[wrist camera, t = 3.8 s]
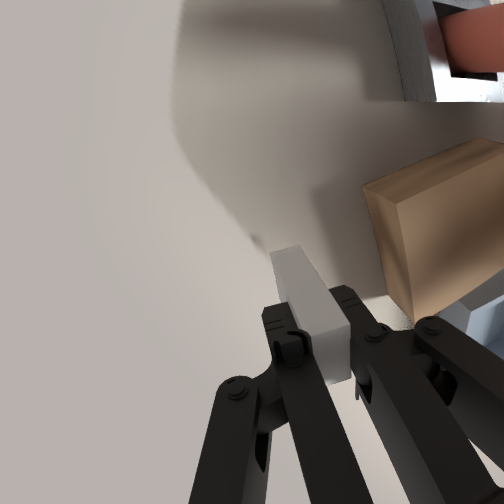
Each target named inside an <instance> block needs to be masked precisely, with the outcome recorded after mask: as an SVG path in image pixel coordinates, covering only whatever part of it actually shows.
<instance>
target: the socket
mask: <svg viewBox="0 0 504 504" xmlns="http://www.w3.org/2000/svg"><path fill="white" fill-rule="evenodd" d="M381 1H382V4H383V7H384V10H385V14H386V17H387V21H388V24H389V28H390V31H391V35H392V39H393V43H394V47H395V51H396V56H397V60H398V65H399V70H400V74H401V80H402V85H403V90H404V96H405V101H421V102H496V103H504V72H481V73H465V75H466V78H451V75H450V69H449V64H448V60H447V55H446V50H445V46H444V42H443V38H442V34H441V30H440V26H439V23H438V19H437V18H440V17H444V16H447V15H451V14H454V13H458V12H462V11H466V10H470V9H475V8H479V7H484V6H488V5H491V4H490V1H489V0H381Z"/></svg>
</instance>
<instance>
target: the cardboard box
mask: <svg viewBox="0 0 504 504" xmlns="http://www.w3.org/2000/svg"><path fill="white" fill-rule="evenodd" d="M362 189H363V193H364V196H365V200H366V203H367V207H368V210H369V214H370V218H371V222H372V225H373V229H374V233H375V237H376V241H377V246H378V250H379V254H380V259H381V263H382V268H383V272H384V277H385V282H386V287H387V292H388V295H389V297H390V298H391V299H392V300H393V301H394V302H395V303H396V304H397V306H398V307H399V308H400V309H401V310H402V311H403V312H404V314H405V315H406V316H407V317H408V318H409V319H410V321H411V322H412V323H413V324H414V325H415V324H416V322H417V321H418V320H419V319H421V318H423V317H426V316H433V315H434V314H436V313H438V312H439V311H441V310H443V309H444V308H446V307H447V306H449V305H451V304H452V303H454V302H455V301H457V300H458V299H460V298H461V297H463V296H464V295H466V294H467V293H469V292H470V291H472V290H473V289H475V288H476V287H478V286H479V285H481V284H482V283H484V282H485V281H486V280H488V279H489V278H491V277H492V276H493V275H495V274H496V273H497V272H499V271H500V270H501V269H503V268H504V144H502V143H498V142H494V141H490V140H485V139H480V138H475V139H473V140H470V141H468V142H465V143H463V144H461V145H458V146H456V147H453V148H451V149H448V150H446V151H444V152H441V153H439V154H436V155H434V156H432V157H429V158H427V159H424V160H422V161H420V162H417V163H415V164H412V165H410V166H408V167H405V168H403V169H401V170H398V171H396V172H394V173H391V174H389V175H387V176H384V177H382V178H380V179H377V180H375V181H372V182H370V183H368V184H366V185H363V186H362Z"/></svg>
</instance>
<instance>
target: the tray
mask: <svg viewBox="0 0 504 504" xmlns="http://www.w3.org/2000/svg"><path fill="white" fill-rule="evenodd" d="M439 317H440V318H442V319H444V320H446V321H447V322H449V323H450V324H452V325H453V326H455V327H456V328H458V329H459V330H461V331H462V332H464V333H465V334H467V335H468V336H470V337H471V338H472V339H474V340H475V341H477V342H478V343H480V344H481V345H483V346H484V347H486V348H487V349H488V350H490V351H491V352H493V353H494V354H496V355H497V356H499V357H500V358H501V359H503V360H504V268H503V269H501V270H500V271H499V272H497V273H496V274H495V275H493V276H492V277H491V278H489V279H488V280H486V281H485V282H484V283H482V284H481V285H479V286H478V287H476V288H475V289H473V290H472V291H470V292H469V293H467V294H466V295H464V296H463V297H461V298H460V299H458V300H457V301H455V302H454V303H452V304H451V305H449V306H447V307H446V308H444V309H443V310H441V311H440V313H439Z"/></svg>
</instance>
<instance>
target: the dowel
mask: <svg viewBox="0 0 504 504" xmlns="http://www.w3.org/2000/svg"><path fill="white" fill-rule="evenodd" d="M437 19H438V23H439V26H440V30H441V34H442V38H443V42H444V46H445V50H446V55H447V60H448V64H449V69H450V74H456V73H481V72H504V3H499V4H493V5H488V6H484V7H479V8H475V9H470V10H466V11H462V12H458V13H454V14H451V15H447V16H444V17H440V18H437Z"/></svg>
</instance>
